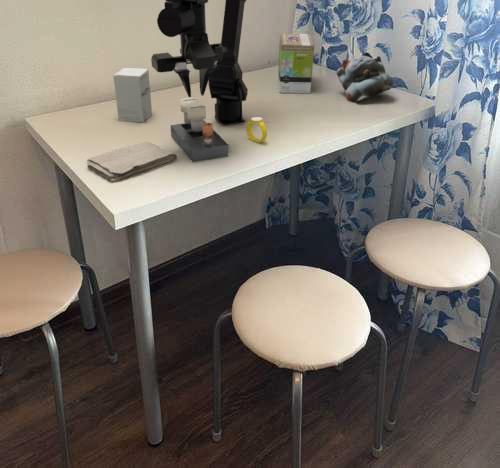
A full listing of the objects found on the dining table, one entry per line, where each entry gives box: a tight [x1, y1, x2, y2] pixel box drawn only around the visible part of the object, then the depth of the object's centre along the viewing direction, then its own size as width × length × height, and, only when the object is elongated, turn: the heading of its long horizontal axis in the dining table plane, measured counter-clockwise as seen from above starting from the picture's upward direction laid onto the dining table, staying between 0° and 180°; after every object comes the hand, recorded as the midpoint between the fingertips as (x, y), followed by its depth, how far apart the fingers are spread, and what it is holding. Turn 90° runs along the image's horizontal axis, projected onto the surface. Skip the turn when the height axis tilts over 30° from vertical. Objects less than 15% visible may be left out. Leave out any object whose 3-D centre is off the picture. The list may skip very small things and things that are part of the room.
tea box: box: [277, 33, 315, 94], centre depth 180 cm, size 15×10×15 cm
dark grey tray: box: [170, 119, 230, 163], centre depth 142 cm, size 9×17×3 cm, turn 23°
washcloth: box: [86, 140, 178, 183], centre depth 133 cm, size 12×18×3 cm, turn 135°
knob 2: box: [187, 103, 207, 131], centre depth 139 cm, size 4×4×6 cm
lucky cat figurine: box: [336, 51, 394, 103], centre depth 173 cm, size 15×12×14 cm
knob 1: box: [179, 96, 199, 124], centre depth 144 cm, size 4×4×6 cm
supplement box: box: [113, 67, 153, 123], centre depth 156 cm, size 7×7×13 cm
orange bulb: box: [202, 122, 214, 146], centre depth 134 cm, size 2×2×5 cm
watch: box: [246, 116, 268, 144], centre depth 144 cm, size 6×3×6 cm, turn 43°
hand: (195, 95), depth 137 cm, fingers open, 3 cm apart
